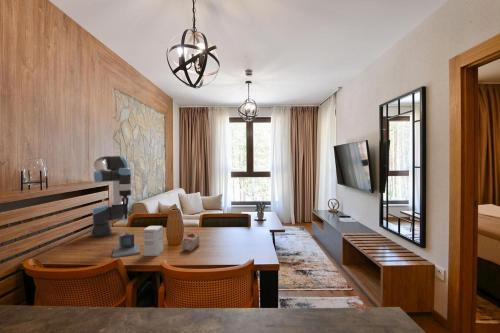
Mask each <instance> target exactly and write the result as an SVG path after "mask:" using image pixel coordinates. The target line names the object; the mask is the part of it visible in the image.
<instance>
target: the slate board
mask: <svg viewBox="0 0 500 333" xmlns="http://www.w3.org/2000/svg"><path fill="white" fill-rule="evenodd" d="M133 255H141V245H140V243H138V244H135V243H134V247H131V248H125V249H119V246H115V247H113V251H112V256H111V257H112V259H114V258H115V259H116V258H120V257H126V256H127V257H128V256H133Z"/></svg>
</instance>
